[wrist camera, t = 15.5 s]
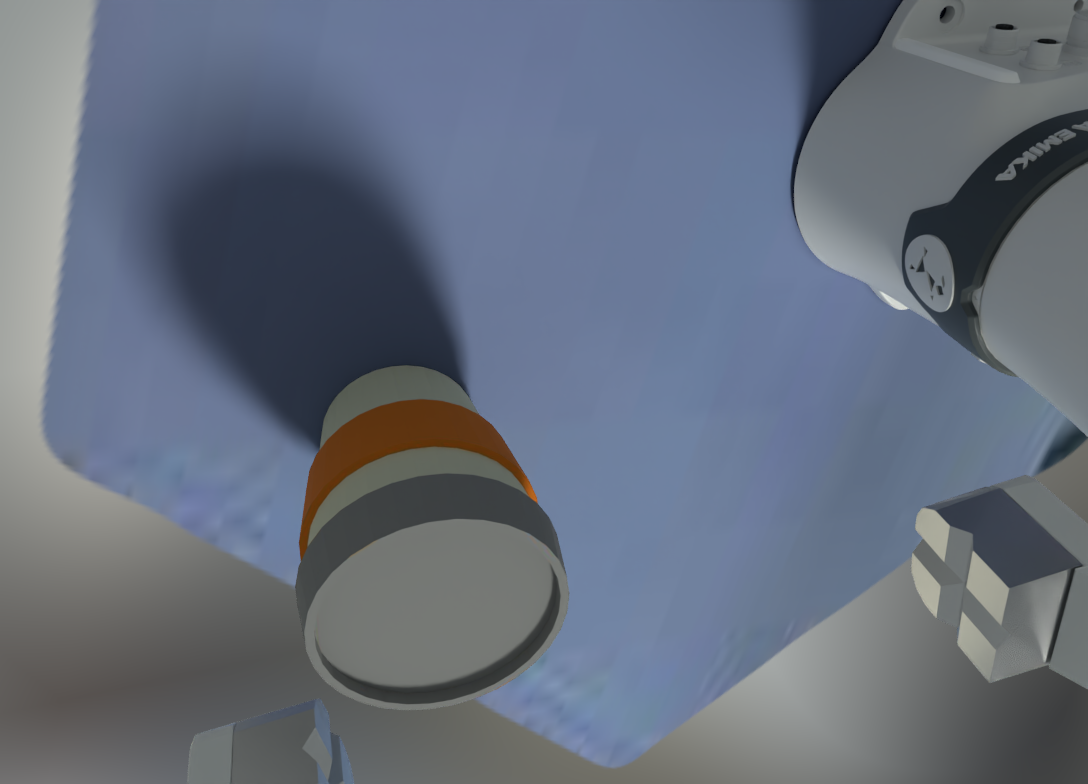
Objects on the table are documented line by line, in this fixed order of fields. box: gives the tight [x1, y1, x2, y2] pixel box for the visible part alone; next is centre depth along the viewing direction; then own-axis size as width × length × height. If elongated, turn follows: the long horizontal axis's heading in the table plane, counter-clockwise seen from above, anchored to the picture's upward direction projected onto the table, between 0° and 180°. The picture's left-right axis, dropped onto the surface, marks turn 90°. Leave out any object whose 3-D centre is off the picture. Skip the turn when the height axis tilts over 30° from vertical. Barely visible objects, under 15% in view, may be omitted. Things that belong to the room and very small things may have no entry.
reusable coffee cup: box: [295, 365, 569, 710], centre depth 47 cm, size 13×13×15 cm
